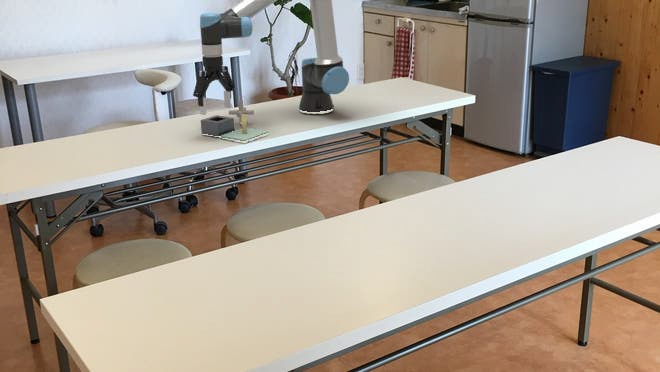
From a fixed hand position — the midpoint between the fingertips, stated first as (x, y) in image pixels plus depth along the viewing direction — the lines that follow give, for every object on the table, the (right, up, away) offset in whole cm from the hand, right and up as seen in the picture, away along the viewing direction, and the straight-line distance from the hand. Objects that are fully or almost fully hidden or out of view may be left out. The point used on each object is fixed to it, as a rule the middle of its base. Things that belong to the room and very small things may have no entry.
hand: (215, 111), depth 272 cm
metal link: (0, -9, +3) cm, 9 cm away
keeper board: (+11, -10, -2) cm, 15 cm away
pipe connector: (+8, -4, +17) cm, 19 cm away
